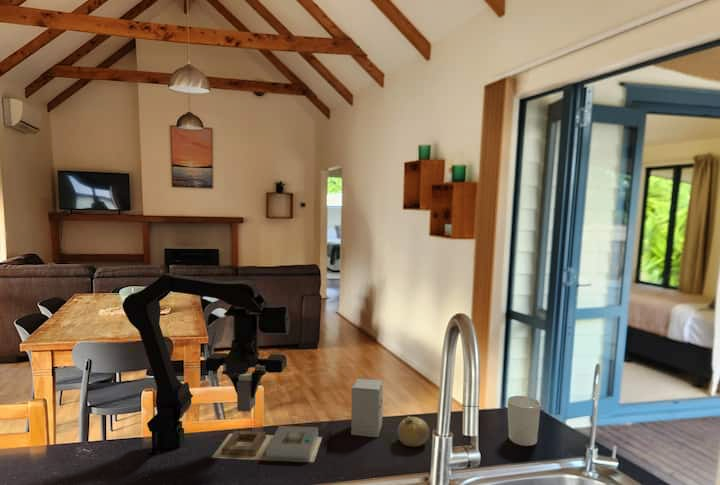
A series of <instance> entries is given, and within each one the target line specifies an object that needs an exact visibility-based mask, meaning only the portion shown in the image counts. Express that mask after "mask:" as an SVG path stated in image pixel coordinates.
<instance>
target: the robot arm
mask: <svg viewBox="0 0 720 485" xmlns="http://www.w3.org/2000/svg"><path fill="white" fill-rule="evenodd" d="M260 291H261V290H260V287H259V286H258V284H257V283H256V282H255V281H254V280H250V279H243V280H242V279H241V280H239V279H238V280H225V281H224V280H223V281H222V280H215V279H214V280H213V279H207V278H200V277H195V276H187V275H183V274H182V275H181V274H176V273H173V272H170V273H166V274H163V275H161V276H159V277H158V278H157V279H156V280H155V281H153V282H152V283H151V284H149V285H148V286H146V287H144V288H142V289H141V290H138V291H136V292H133V293H131V294H128V295H127V296H126V297H125V299H124V300H123V302H122V311H123V313H124V315H125V316H126V318H127V319H128V322H129V323H130V324H131V325H132V326H133V327H134V328H135V329H136V330H137V331H138V333H139V336H140V339H141V342H142V344H143V348H144V351H145V355H146V357H147V360H148V364H149V366H150V370H151V372H152V373H151V374H152V377H153V379H154V383H155V385H156V395H155V407H156V414H155V415H154V416H153V417H152V418H151V419H150V420H148V422H147V423H146V426H147V427H148V430H149V432H151V449H150V450H148V455H155V454H156V453H157V452H158V451H159V452H164V451H171V450H177V449H180V448H182V446H183V445H184V444H185V428H184V427H183V421H182V420H181V419H182V418H183V417H184V416H185V413H186V412H188V410H189V409H190V408H191V405H192V398H193V397H194V395H193V394H192V392H191V389H190V386H189V382H187V381H186V382H184V383H182V382H181V381H180V380H179V379H178V377H177V374H176V372H175V369H174V365H173V361H172V359H171V355H170V353H169V350H168V346H167V343H166V340H165V337H164V334H163V331H162V328H161V325H160V319H161V318H160V317H161V310H162V308H161V304H160V303H161V302H160V301H162V300H163V299H165V298H166V297H167V296H168V295H169V294H171V293H177V294H178V293H179V294H186V295H192V296H198V297H204V298H211V299H217V300H219V301H222V302H223V303H226V304H227V305H230V306H229V308H228V309H227V311H226V312H224V313H223V315H224V317H232V318H233V319H232V322H233V324H232V328H233V333H232V334H233V336H232V337H233V339H232V340H231V347H230V351H229V352H213V353H212V354H210V355H209V356H208V357H207V358H206V359H204V362H203V370H204V371H206V372H217V371H218V370H219V369H220V368H221V366H222V371H221V374H222V375H226V376H227V377H228V378H229V379H230V381H231V383H232V386H233V387H234V391H235V393H236V394H237V382H238V381H239V378H238V377H239V376H240V375H241V374H245V373H247V372H248V371H249V369H251V368H254V370H253V371H252V372H251V374H252V378H253V379H252V398H254V397H255V398H256V394H257V392H258V388H259V386H260V383H261V380H262V378H263V376H265V375H266V373H269V374H271V373H272V374H273V373H274V374H277V373H278V374H280V373H283V371H284V370H285V368H287V365H288V362H287V361H288V359H287V357H286V355H285V354H278V353H277V354H274V353H272V354H269V355H268V357H266V358H259V357H260V351H259V340H260V335H259V330H260V332H261V333H263V334H264V335H288V334H289V332H290V328H291V327H290V326H291V317H290V313H289V310H288V305H287V304H282V305H269V303H268V302H267V301H266V300H265V298H264V297H263V295H262V294H261V292H260Z"/></svg>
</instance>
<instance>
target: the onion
mask: <svg viewBox="0 0 720 485" xmlns="http://www.w3.org/2000/svg"><path fill="white" fill-rule="evenodd" d="M429 436H430V427H429V425H428V424H427V422H426V421H425V420H424V419H422V418H420V417H416V416H410V415H407V416H406V417H405V418H403V419H402V421H401V422H399V424H398V427H397V437H398V439H399V441H400V443H401V444H402V445H404V446H408V447H414V448H415V447H420V446H423V445H425V443H426V442H427V441H428V439H429Z"/></svg>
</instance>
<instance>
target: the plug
mask: <svg viewBox="0 0 720 485" xmlns="http://www.w3.org/2000/svg"><path fill="white" fill-rule="evenodd" d="M238 378H239V381H238V382H237V393H236V397H237V398H236V399H237V400H236V402H237V403H236V404H237V406H236V407H237V412H247V413H248V412H251V411H252V410H253V409H254V407H255V405H256V396H255V397H254V398H252V379H253V378H252V373H250V372H249V373H245V374H241V375H240V376H239V377H238Z"/></svg>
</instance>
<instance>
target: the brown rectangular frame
mask: <svg viewBox="0 0 720 485" xmlns="http://www.w3.org/2000/svg"><path fill="white" fill-rule="evenodd" d="M231 434H232V436H231V437H230V438H229V440H228V441H227V442H226V444H225V445H224V446H223V448H222V455H241V456H256V455H257V453H258V451H259V449H260V448H261V446H262V444H263V442H264V441H265V439H266V435H267V431H253V430H252V431H251V430H250V431H249V430H248V431H247V430H245V431H244V430H234V432H233V433H231ZM239 440H254V441H253V443H252V444H251V446H236V445H237V443H238V442H239Z"/></svg>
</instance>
